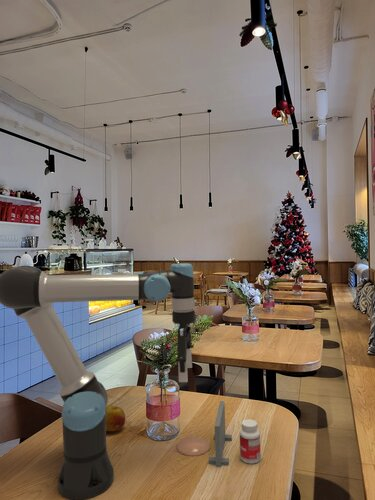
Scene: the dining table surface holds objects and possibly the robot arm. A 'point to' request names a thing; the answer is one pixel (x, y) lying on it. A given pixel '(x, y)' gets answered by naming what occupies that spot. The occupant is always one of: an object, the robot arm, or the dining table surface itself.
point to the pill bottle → (250, 442)
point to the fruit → (114, 418)
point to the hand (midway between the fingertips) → (185, 374)
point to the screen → (220, 438)
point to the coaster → (193, 446)
